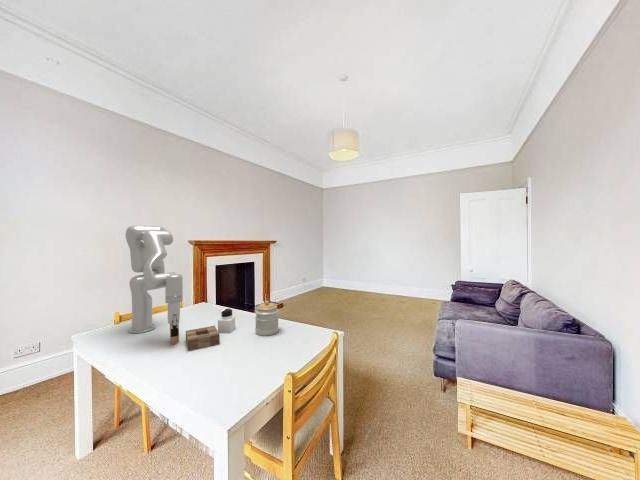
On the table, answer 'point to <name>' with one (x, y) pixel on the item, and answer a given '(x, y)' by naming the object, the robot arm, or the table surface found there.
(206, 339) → the socket block
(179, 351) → the table surface
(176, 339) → the peg
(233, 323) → the medicine bottle
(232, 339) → the table surface
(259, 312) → the jar
